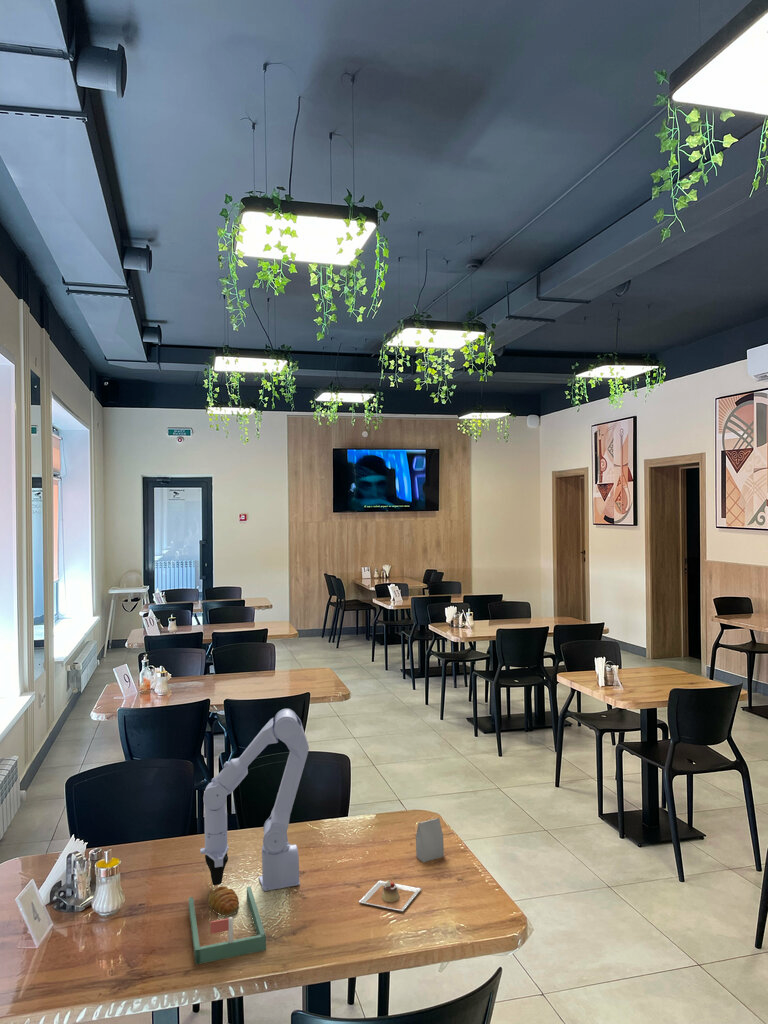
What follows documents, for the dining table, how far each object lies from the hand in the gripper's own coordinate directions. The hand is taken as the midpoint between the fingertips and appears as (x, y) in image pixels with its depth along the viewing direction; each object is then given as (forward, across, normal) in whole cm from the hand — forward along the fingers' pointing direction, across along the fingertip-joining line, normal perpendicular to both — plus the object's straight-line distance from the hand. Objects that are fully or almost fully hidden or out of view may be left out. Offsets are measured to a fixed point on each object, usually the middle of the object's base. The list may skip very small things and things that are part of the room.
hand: (216, 883), depth 185 cm
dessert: (+2, +21, +40) cm, 45 cm away
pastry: (+2, +10, +1) cm, 10 cm away
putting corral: (+1, +21, 0) cm, 21 cm away
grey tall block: (+2, +3, +58) cm, 58 cm away
